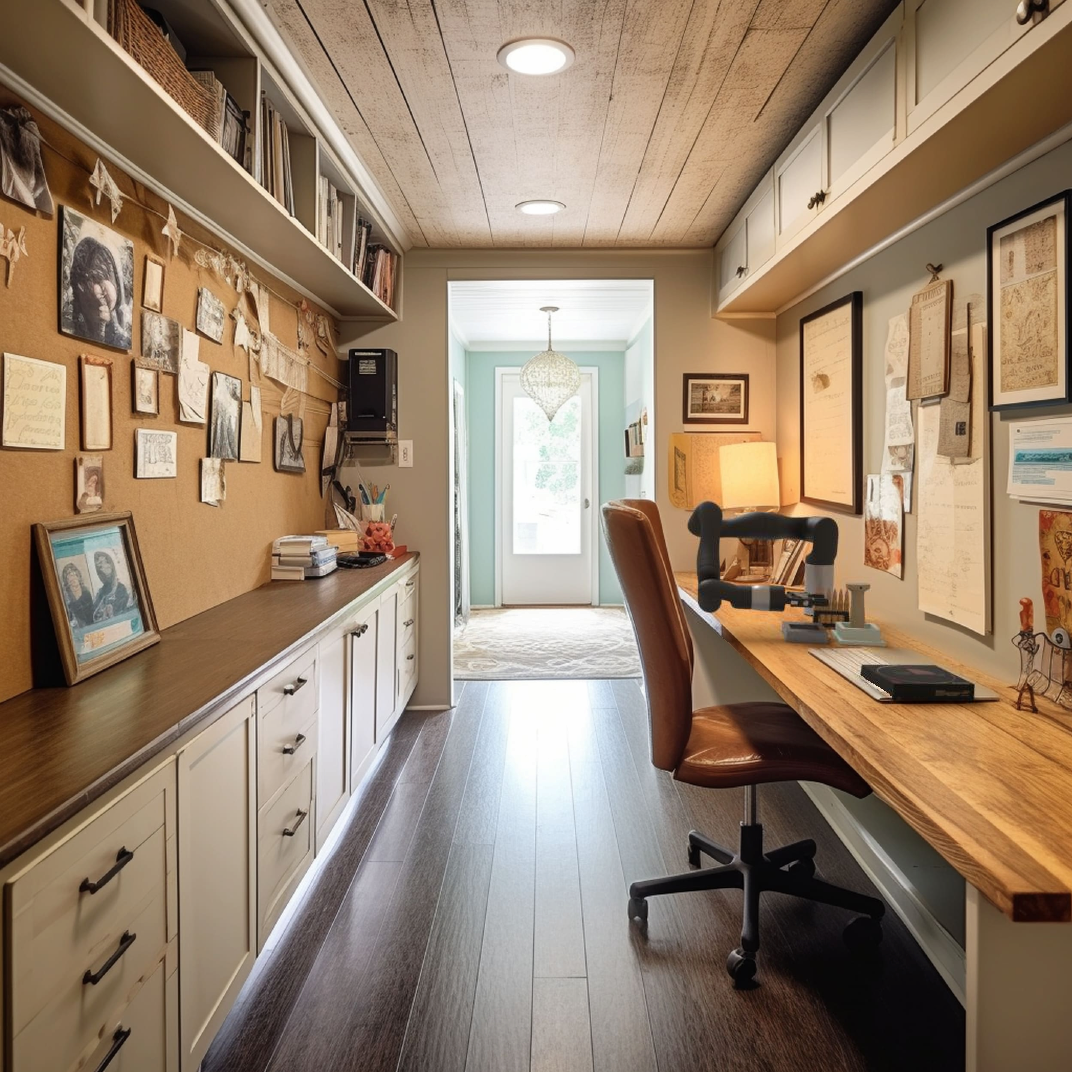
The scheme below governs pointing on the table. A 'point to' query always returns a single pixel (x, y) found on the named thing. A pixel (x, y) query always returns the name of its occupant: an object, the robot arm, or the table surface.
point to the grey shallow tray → (858, 635)
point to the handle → (857, 604)
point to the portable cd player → (919, 682)
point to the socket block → (804, 632)
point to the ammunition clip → (834, 615)
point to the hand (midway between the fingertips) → (826, 600)
